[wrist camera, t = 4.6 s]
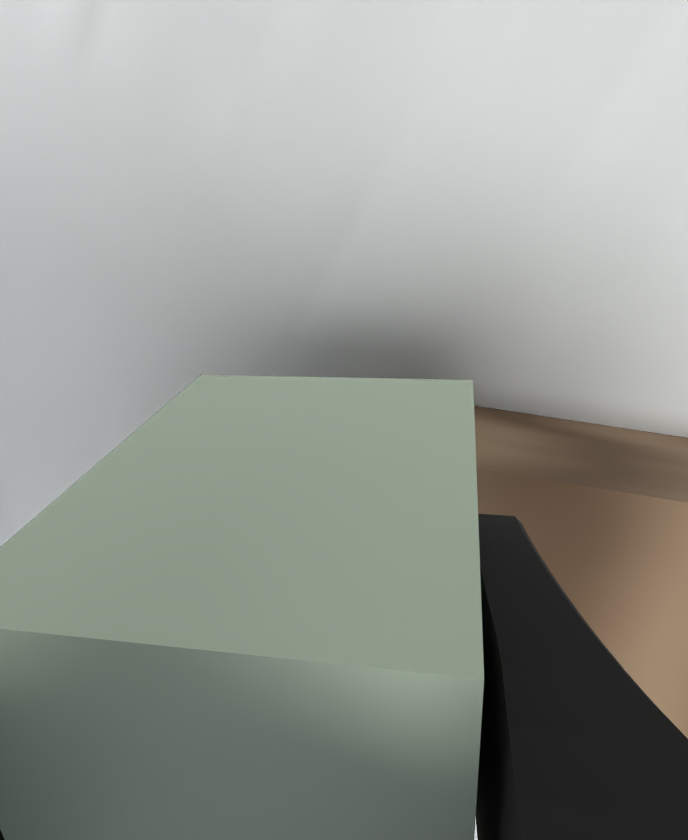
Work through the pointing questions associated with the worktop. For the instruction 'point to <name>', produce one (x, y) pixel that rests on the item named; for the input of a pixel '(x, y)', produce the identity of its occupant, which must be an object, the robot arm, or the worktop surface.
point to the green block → (253, 623)
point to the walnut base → (602, 532)
